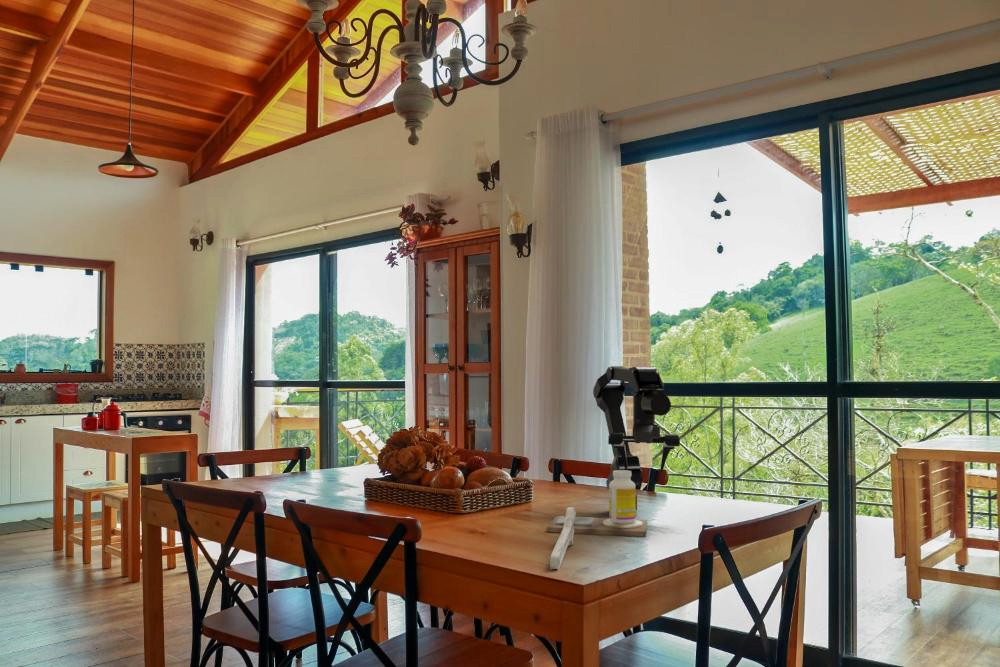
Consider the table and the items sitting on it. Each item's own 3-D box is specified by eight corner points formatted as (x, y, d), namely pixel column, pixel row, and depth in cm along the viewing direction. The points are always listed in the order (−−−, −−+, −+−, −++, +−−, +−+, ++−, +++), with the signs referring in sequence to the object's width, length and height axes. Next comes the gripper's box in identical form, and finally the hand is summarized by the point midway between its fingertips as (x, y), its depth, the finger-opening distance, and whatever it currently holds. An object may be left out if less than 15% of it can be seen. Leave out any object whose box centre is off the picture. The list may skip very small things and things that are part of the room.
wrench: (549, 584, 170) (568, 536, 199) (558, 585, 170) (576, 537, 199) (549, 546, 169) (568, 504, 198) (558, 546, 169) (576, 504, 198)
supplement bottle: (641, 522, 210) (641, 471, 211) (622, 525, 206) (622, 473, 207) (622, 518, 216) (622, 468, 216) (603, 521, 212) (603, 470, 212)
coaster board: (547, 532, 207) (548, 524, 207) (555, 520, 222) (555, 513, 222) (645, 536, 202) (645, 529, 202) (647, 524, 217) (647, 517, 217)
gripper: (606, 414, 217) (606, 474, 217) (680, 415, 214) (680, 477, 213) (609, 412, 228) (609, 469, 228) (679, 413, 225) (679, 471, 224)
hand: (643, 471), depth 223 cm, fingers open, 9 cm apart
